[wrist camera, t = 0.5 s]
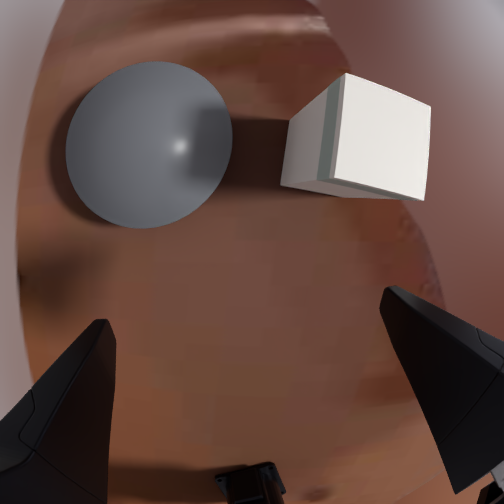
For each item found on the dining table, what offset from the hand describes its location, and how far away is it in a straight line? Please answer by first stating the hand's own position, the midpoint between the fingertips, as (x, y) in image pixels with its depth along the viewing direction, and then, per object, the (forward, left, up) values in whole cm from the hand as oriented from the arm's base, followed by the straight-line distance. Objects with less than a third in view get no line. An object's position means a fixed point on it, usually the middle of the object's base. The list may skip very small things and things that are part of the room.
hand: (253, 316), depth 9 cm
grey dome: (+8, +3, -14) cm, 16 cm away
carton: (+5, -8, -14) cm, 16 cm away
